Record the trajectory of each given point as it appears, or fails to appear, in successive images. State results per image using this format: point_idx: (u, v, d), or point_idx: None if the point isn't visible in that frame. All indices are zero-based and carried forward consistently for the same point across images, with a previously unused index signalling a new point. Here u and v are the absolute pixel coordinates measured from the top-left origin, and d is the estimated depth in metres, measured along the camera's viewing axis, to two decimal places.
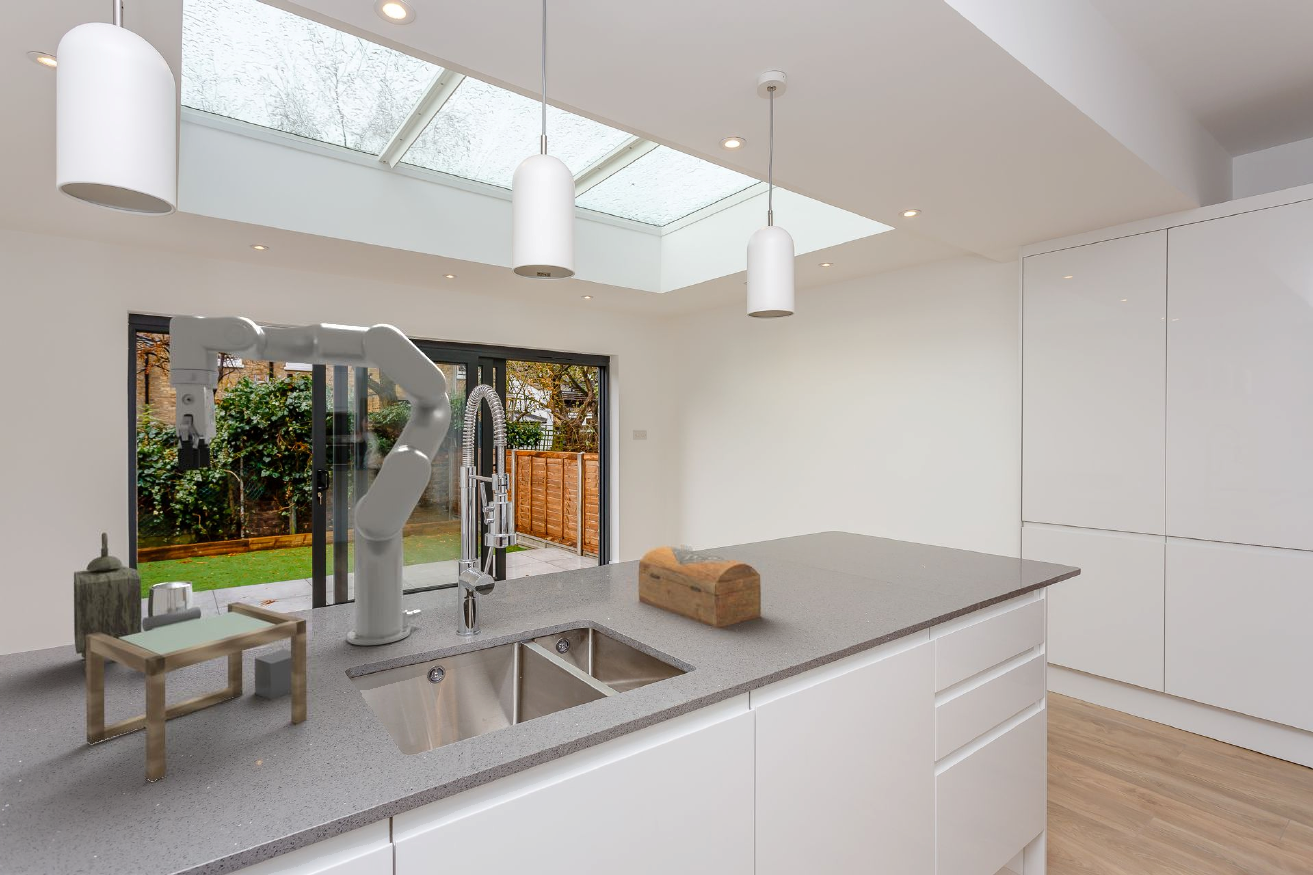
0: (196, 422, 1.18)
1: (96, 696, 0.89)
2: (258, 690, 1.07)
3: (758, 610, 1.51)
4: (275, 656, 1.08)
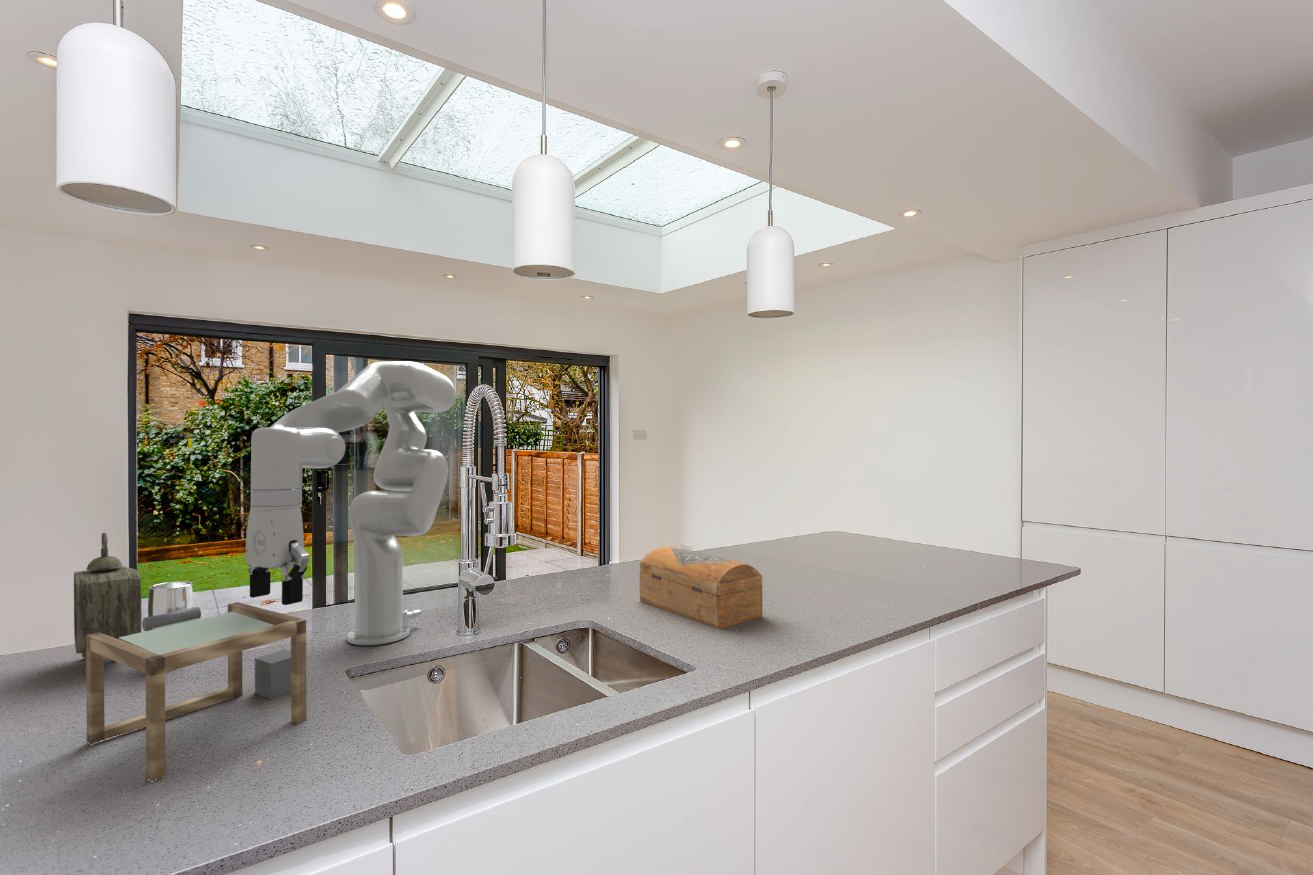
0: None
1: (96, 696, 0.89)
2: (258, 690, 1.07)
3: (760, 610, 1.51)
4: (275, 656, 1.08)
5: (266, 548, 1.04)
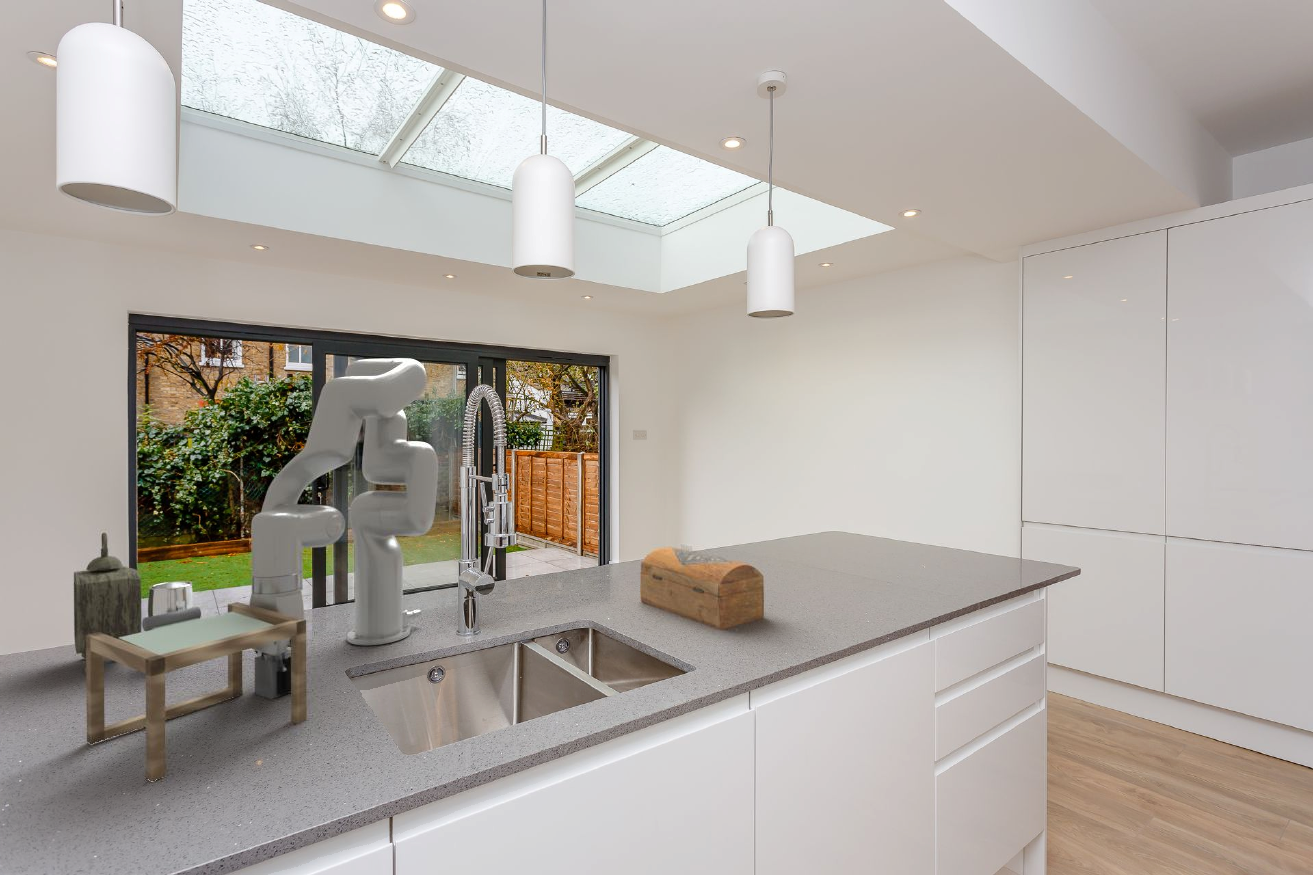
0: None
1: (96, 696, 0.89)
2: (258, 690, 1.06)
3: (761, 611, 1.50)
4: None
5: None
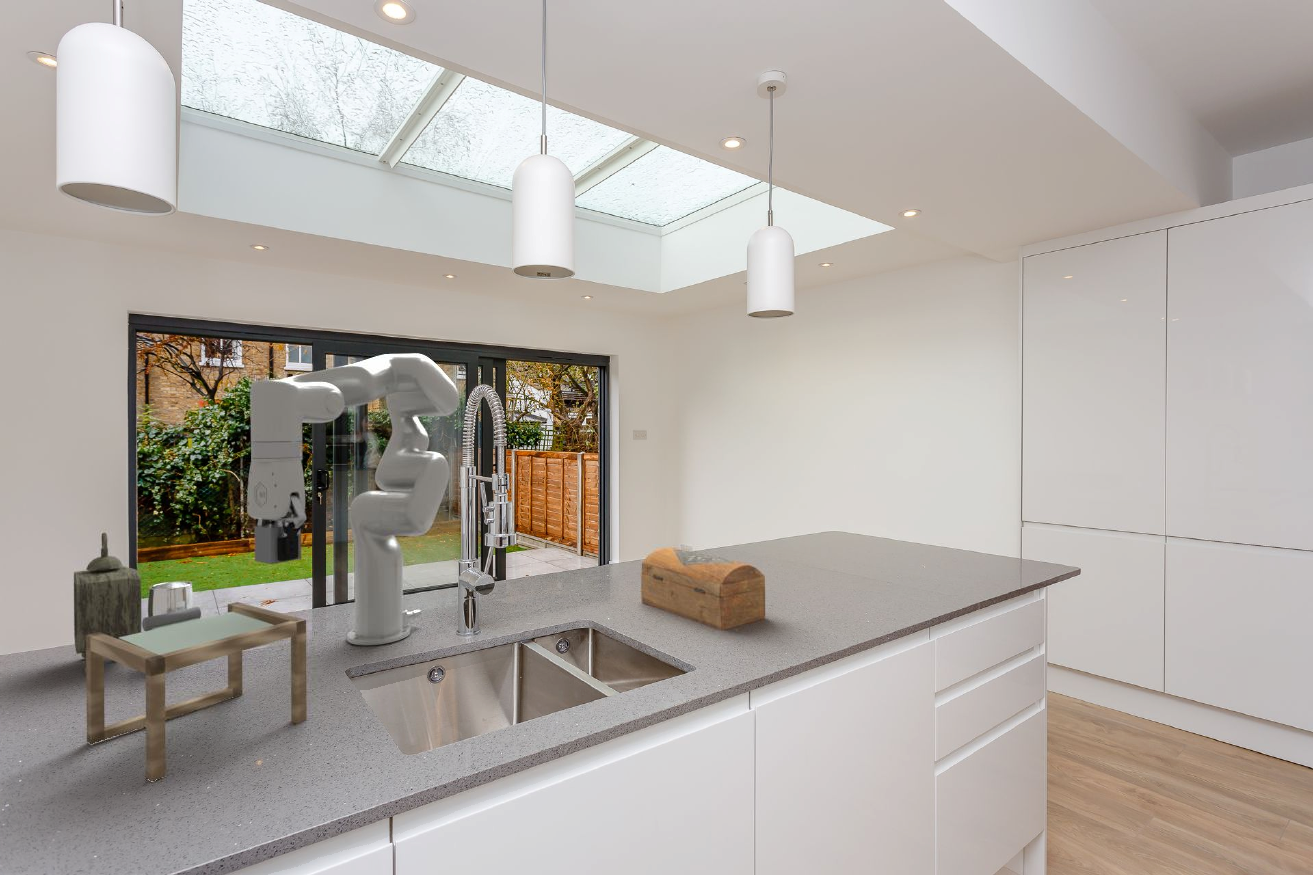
0: None
1: (96, 696, 0.89)
2: (258, 557, 1.06)
3: (763, 611, 1.50)
4: (275, 525, 1.08)
5: (268, 500, 1.04)
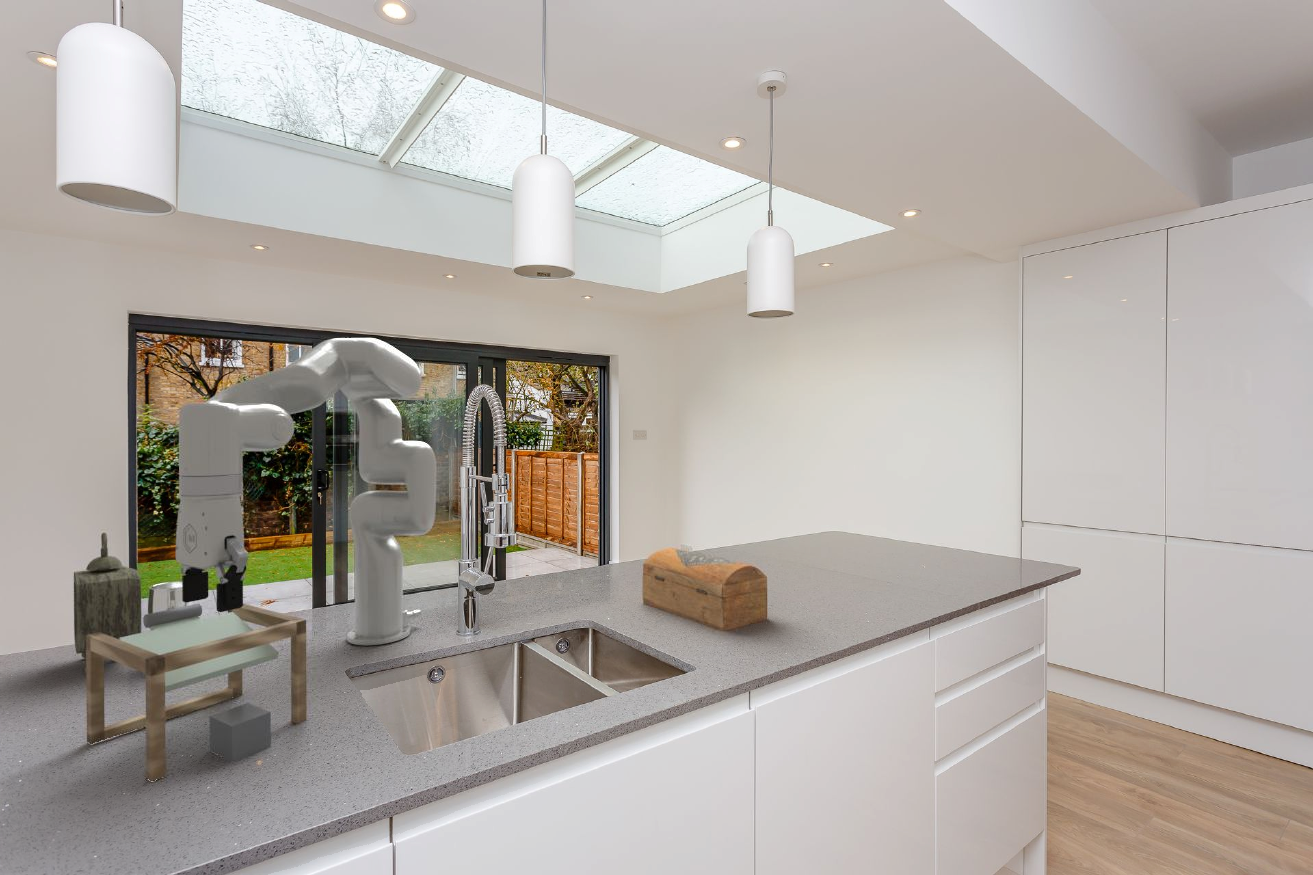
0: None
1: (96, 696, 0.89)
2: (212, 725, 0.87)
3: (765, 612, 1.49)
4: (250, 734, 0.87)
5: (197, 545, 0.88)
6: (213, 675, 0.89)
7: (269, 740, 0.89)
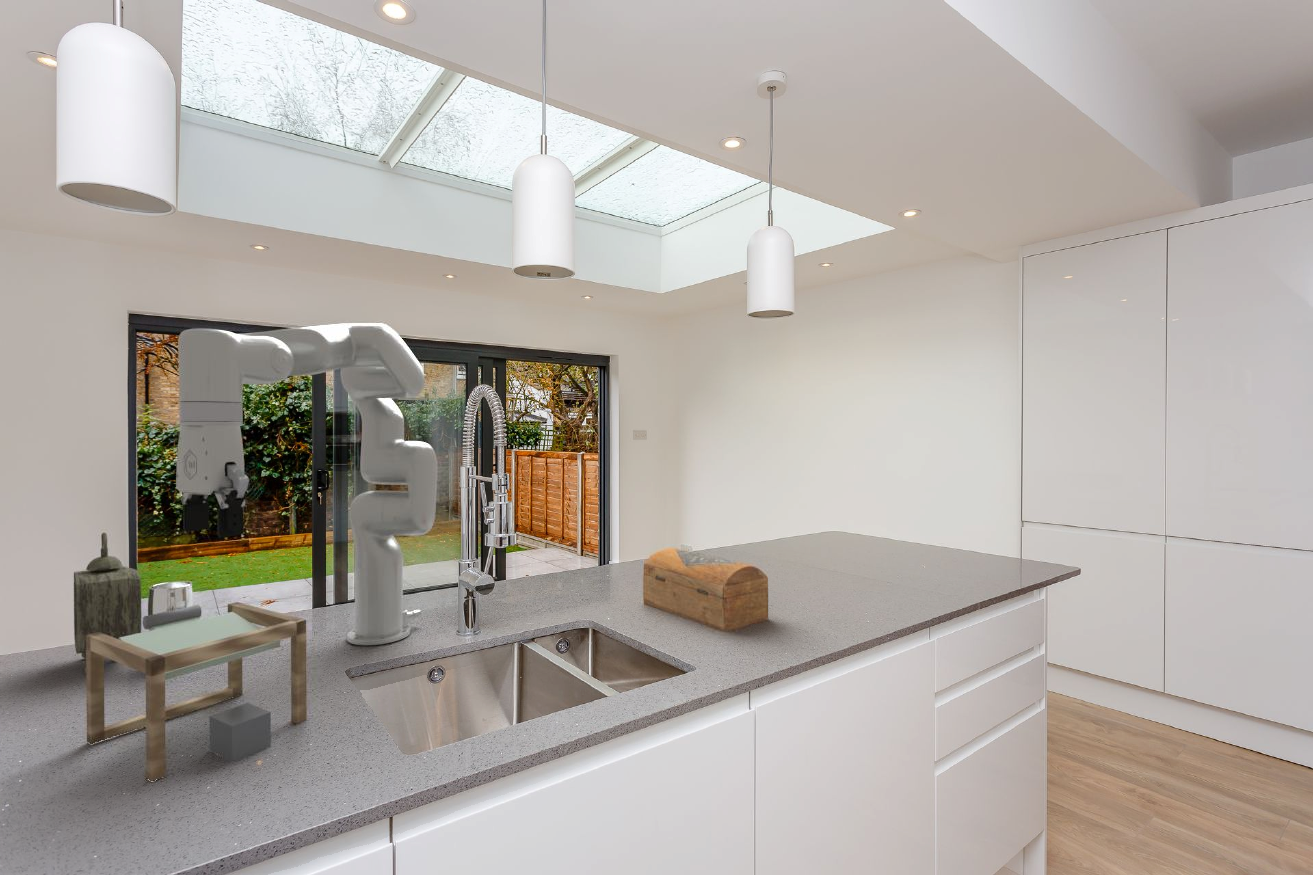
0: None
1: (96, 696, 0.89)
2: (212, 724, 0.87)
3: (766, 613, 1.49)
4: (250, 734, 0.87)
5: (198, 471, 0.88)
6: (215, 662, 0.88)
7: (269, 740, 0.89)
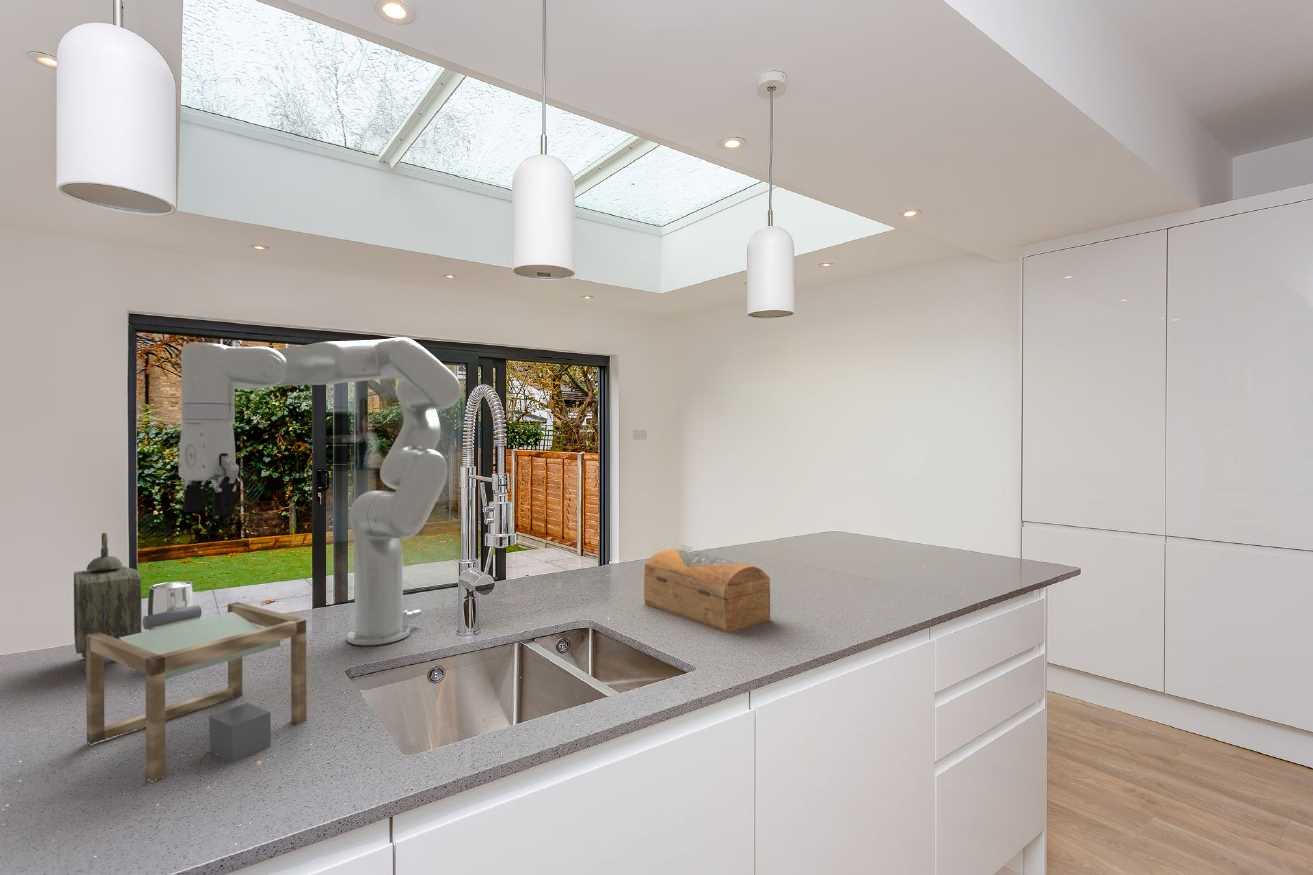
0: None
1: (96, 696, 0.89)
2: (211, 724, 0.87)
3: (768, 613, 1.48)
4: (250, 734, 0.87)
5: (196, 460, 1.06)
6: (215, 662, 0.88)
7: (269, 740, 0.89)
